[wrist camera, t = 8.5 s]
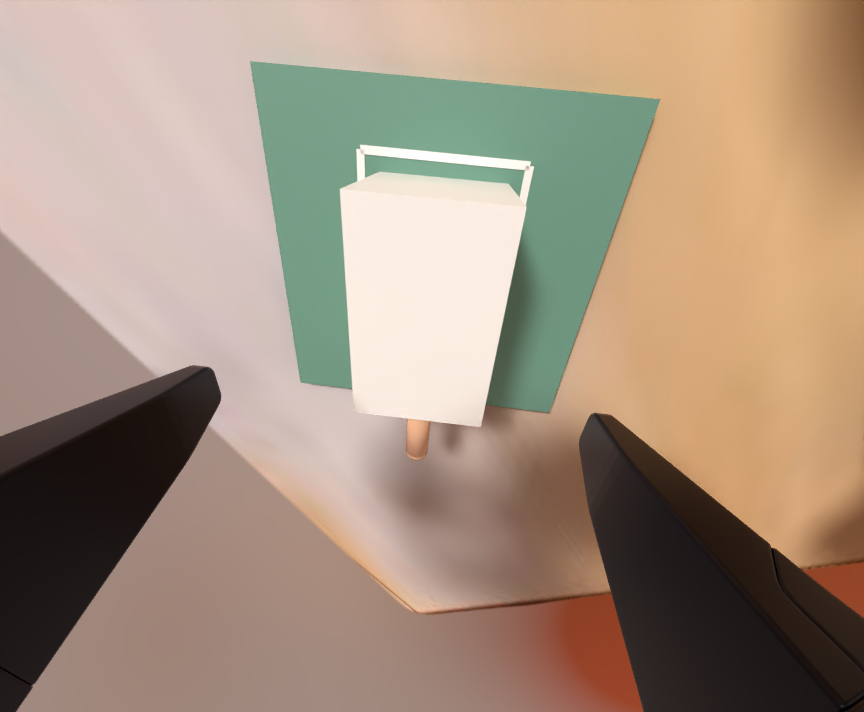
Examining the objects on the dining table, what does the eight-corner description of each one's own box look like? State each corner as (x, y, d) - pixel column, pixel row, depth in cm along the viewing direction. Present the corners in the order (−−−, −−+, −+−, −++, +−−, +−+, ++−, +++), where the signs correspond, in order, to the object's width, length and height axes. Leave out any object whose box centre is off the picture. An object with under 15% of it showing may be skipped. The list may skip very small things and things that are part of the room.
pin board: (652, 100, 12) (696, 93, 10) (547, 405, 20) (557, 442, 17) (259, 64, 13) (210, 48, 10) (304, 376, 20) (283, 408, 18)
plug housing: (508, 183, 13) (527, 207, 9) (468, 409, 20) (468, 484, 15) (379, 171, 14) (339, 189, 9) (381, 398, 20) (357, 470, 16)
